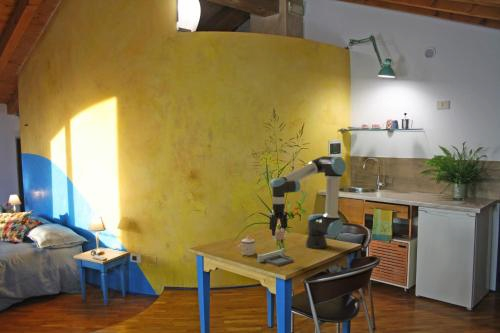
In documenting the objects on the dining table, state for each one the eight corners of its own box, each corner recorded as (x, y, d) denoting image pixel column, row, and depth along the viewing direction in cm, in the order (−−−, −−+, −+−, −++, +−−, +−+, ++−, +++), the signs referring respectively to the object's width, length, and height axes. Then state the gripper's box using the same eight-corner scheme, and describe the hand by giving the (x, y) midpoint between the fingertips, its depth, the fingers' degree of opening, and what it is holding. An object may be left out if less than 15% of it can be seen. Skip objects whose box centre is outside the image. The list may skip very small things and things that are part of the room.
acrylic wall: (282, 255, 271) (282, 248, 270) (284, 255, 269) (284, 248, 269) (257, 262, 256) (257, 254, 255) (259, 262, 254) (259, 255, 254)
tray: (279, 257, 265) (279, 254, 265) (293, 261, 256) (293, 259, 256) (264, 261, 256) (264, 259, 256) (277, 266, 247) (277, 263, 247)
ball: (278, 238, 260) (278, 228, 259) (285, 240, 255) (285, 230, 254) (271, 240, 255) (271, 229, 255) (278, 241, 251) (278, 231, 250)
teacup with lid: (251, 251, 280) (250, 234, 279) (257, 254, 272) (257, 237, 271) (235, 253, 275) (235, 236, 274) (241, 257, 267) (241, 239, 266)
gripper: (285, 200, 263) (284, 236, 264) (263, 204, 250) (263, 241, 252) (293, 202, 257) (293, 238, 259) (271, 205, 244) (271, 243, 246)
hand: (278, 239), depth 255 cm, fingers closed on ball, 6 cm apart
